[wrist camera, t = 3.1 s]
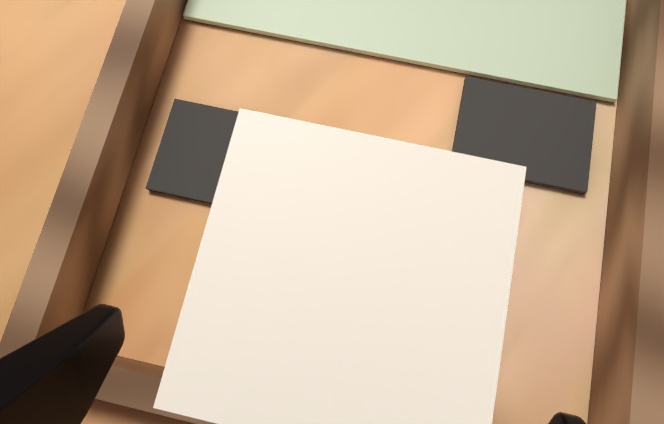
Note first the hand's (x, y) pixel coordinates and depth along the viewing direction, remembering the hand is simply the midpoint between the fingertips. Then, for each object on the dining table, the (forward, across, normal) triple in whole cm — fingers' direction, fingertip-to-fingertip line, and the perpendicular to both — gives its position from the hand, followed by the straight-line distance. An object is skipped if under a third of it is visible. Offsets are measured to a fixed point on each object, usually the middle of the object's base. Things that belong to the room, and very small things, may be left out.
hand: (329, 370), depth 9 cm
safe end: (+18, 0, -5) cm, 19 cm away
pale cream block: (+8, 0, +6) cm, 10 cm away
